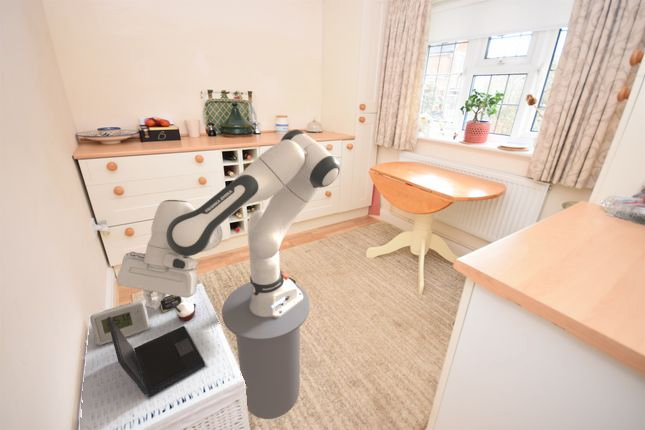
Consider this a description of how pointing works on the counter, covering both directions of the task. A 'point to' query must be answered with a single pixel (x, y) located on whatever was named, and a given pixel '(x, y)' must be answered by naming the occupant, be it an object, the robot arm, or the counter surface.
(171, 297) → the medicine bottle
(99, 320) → the digital clock
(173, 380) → the laptop
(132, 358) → the laptop screen
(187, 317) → the cupcake
